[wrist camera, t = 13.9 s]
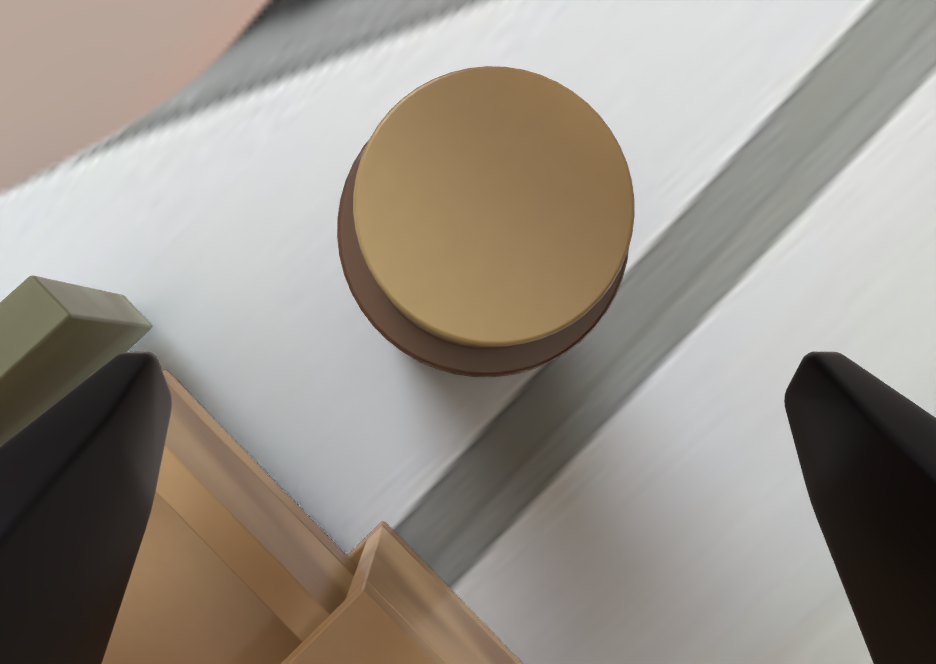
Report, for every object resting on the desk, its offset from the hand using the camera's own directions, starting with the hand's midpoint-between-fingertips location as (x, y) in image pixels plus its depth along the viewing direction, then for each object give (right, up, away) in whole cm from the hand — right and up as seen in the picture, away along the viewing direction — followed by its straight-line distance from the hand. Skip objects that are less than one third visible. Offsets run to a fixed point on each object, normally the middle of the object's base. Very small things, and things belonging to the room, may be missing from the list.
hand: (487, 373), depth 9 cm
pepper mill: (-1, +2, +10) cm, 10 cm away
